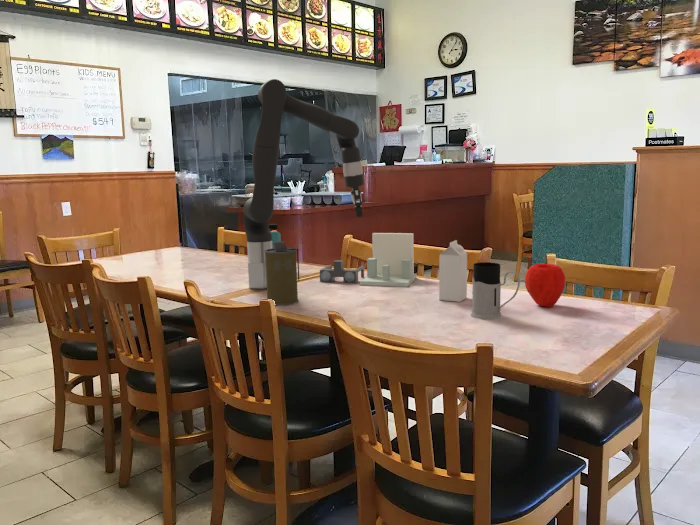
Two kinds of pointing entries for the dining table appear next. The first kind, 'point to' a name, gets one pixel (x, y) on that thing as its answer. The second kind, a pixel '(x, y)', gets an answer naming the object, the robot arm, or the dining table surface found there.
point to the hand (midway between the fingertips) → (359, 215)
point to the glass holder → (488, 290)
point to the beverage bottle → (274, 234)
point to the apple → (545, 283)
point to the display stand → (391, 260)
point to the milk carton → (453, 273)
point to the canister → (282, 274)
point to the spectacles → (340, 273)
